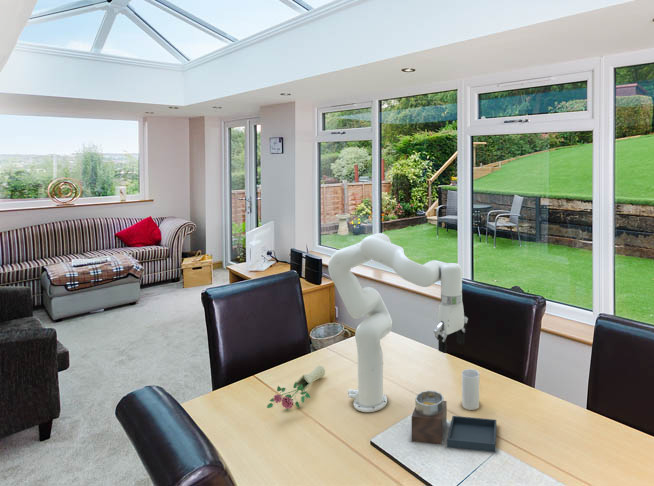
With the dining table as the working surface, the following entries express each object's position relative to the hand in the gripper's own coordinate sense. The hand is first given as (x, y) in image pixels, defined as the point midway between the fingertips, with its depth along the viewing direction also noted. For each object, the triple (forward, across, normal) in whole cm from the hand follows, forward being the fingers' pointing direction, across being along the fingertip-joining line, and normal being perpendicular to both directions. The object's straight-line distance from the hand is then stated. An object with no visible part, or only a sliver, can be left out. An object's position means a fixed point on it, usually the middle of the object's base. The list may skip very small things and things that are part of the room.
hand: (451, 347), depth 151 cm
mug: (+26, -13, -1) cm, 29 cm away
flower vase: (+26, +28, -52) cm, 65 cm away
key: (+17, +9, -2) cm, 19 cm away
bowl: (+17, +10, -1) cm, 20 cm away
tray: (+25, +2, +11) cm, 28 cm away
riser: (+25, +10, -1) cm, 27 cm away
